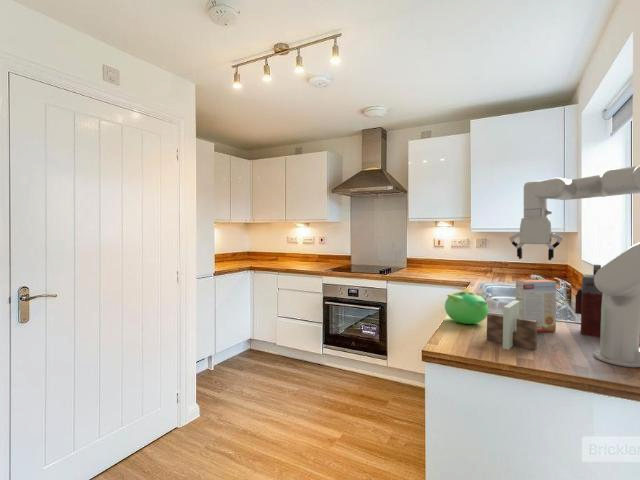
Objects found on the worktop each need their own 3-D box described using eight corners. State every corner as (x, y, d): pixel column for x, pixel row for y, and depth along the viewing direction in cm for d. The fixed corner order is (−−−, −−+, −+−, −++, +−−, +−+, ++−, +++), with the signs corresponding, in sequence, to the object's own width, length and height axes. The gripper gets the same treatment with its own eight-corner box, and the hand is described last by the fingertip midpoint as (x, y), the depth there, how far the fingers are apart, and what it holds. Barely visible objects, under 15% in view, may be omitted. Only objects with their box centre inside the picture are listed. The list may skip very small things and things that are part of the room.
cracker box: (546, 327, 147) (547, 279, 147) (556, 331, 141) (557, 281, 141) (514, 328, 147) (515, 279, 146) (522, 332, 141) (524, 281, 140)
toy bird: (487, 320, 158) (488, 288, 158) (488, 331, 143) (489, 295, 142) (446, 316, 166) (446, 286, 165) (443, 325, 150) (443, 292, 150)
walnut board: (536, 348, 123) (537, 320, 123) (535, 350, 121) (535, 322, 121) (488, 338, 134) (489, 312, 133) (486, 340, 132) (487, 314, 131)
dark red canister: (575, 328, 147) (577, 262, 145) (609, 333, 139) (612, 264, 138) (573, 333, 140) (575, 264, 138) (609, 339, 132) (611, 266, 131)
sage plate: (518, 339, 132) (519, 301, 131) (508, 349, 122) (509, 307, 121) (512, 338, 133) (513, 300, 133) (502, 348, 123) (503, 306, 122)
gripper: (563, 213, 128) (563, 259, 128) (511, 215, 139) (511, 257, 139) (561, 213, 122) (561, 261, 123) (507, 214, 133) (507, 259, 134)
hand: (534, 259), depth 131 cm, fingers open, 9 cm apart
